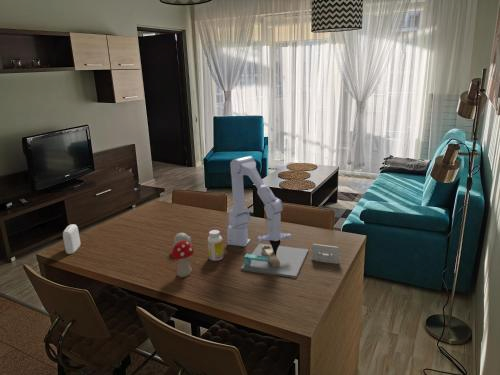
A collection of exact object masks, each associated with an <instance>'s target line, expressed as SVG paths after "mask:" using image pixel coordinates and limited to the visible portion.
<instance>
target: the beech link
mask: <svg viewBox="0 0 500 375" xmlns="http://www.w3.org/2000/svg"><path fill="white" fill-rule="evenodd" d="M270 245H271V244H268V245H263V246H262V253H265V255H266V256H268V257H270V259H269V261H270V263H271V265H272V266H273V267H277V266H280V261H279V260H278V258H277V257H276V255H275V254H274V252H273V251H272V249H271V246H270Z"/></svg>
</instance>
